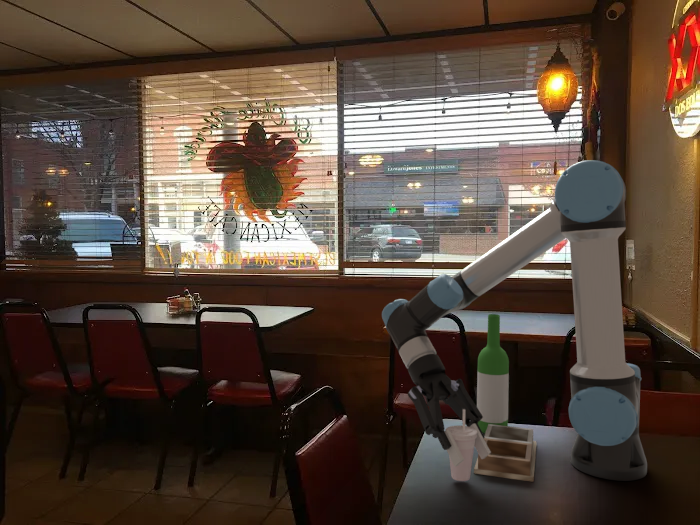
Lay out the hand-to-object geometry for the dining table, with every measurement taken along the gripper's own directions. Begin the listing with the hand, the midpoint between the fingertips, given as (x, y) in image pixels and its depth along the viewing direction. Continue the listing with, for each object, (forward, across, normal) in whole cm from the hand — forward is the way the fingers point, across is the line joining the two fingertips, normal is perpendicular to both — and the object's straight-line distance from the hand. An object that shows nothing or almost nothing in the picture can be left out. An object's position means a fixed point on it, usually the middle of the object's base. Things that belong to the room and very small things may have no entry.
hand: (473, 459), depth 113 cm
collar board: (-1, -17, -10) cm, 20 cm away
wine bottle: (-11, -27, -20) cm, 36 cm away
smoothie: (+1, 0, -6) cm, 6 cm away
